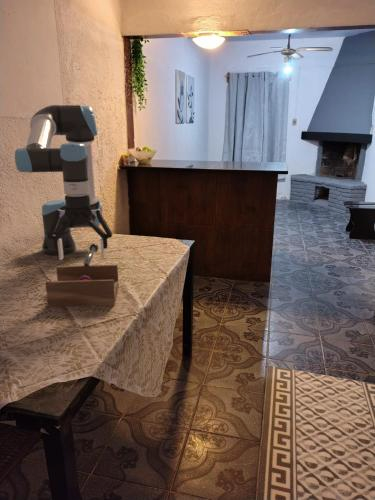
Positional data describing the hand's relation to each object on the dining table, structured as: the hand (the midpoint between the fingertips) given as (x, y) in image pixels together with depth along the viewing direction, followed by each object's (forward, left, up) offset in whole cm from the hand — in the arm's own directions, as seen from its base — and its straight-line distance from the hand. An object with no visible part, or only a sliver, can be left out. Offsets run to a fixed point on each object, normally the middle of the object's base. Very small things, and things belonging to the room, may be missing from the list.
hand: (82, 258), depth 126 cm
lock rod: (-15, 0, -5) cm, 16 cm away
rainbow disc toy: (0, 0, -14) cm, 14 cm away
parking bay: (0, 0, -14) cm, 14 cm away
